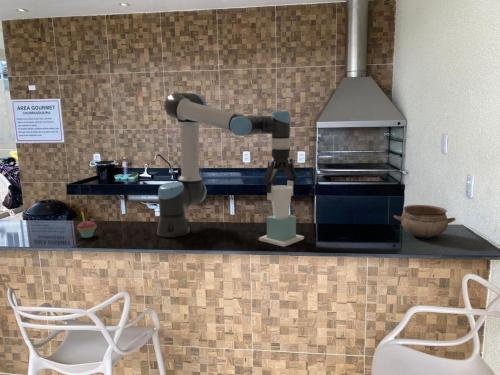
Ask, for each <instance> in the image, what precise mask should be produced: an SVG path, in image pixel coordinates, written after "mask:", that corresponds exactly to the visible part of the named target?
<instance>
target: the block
mask: <svg viewBox="0 0 500 375" xmlns="http://www.w3.org/2000/svg"><path fill="white" fill-rule="evenodd" d="M266 235H267V237H268V238H272V239H277V240H281V241H285V240H287V239H290V238H293V237H295V236H296V235H297V217H296V215H292V214H289V217H288V218H282V219H280V218H275V217H274V214H273V215H269V216H266Z"/></svg>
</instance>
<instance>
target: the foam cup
mask: <svg viewBox="0 0 500 375" xmlns="http://www.w3.org/2000/svg"><path fill="white" fill-rule="evenodd" d="M291 194H292V187H291V186H287V184H286V185H283V184H281V185H278V184H277V185H273V201H271V207H272V213H273V215H274V217H275V218H280V219H282V218H288V217H289V215H290V208H291V200H292V196H291Z"/></svg>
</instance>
